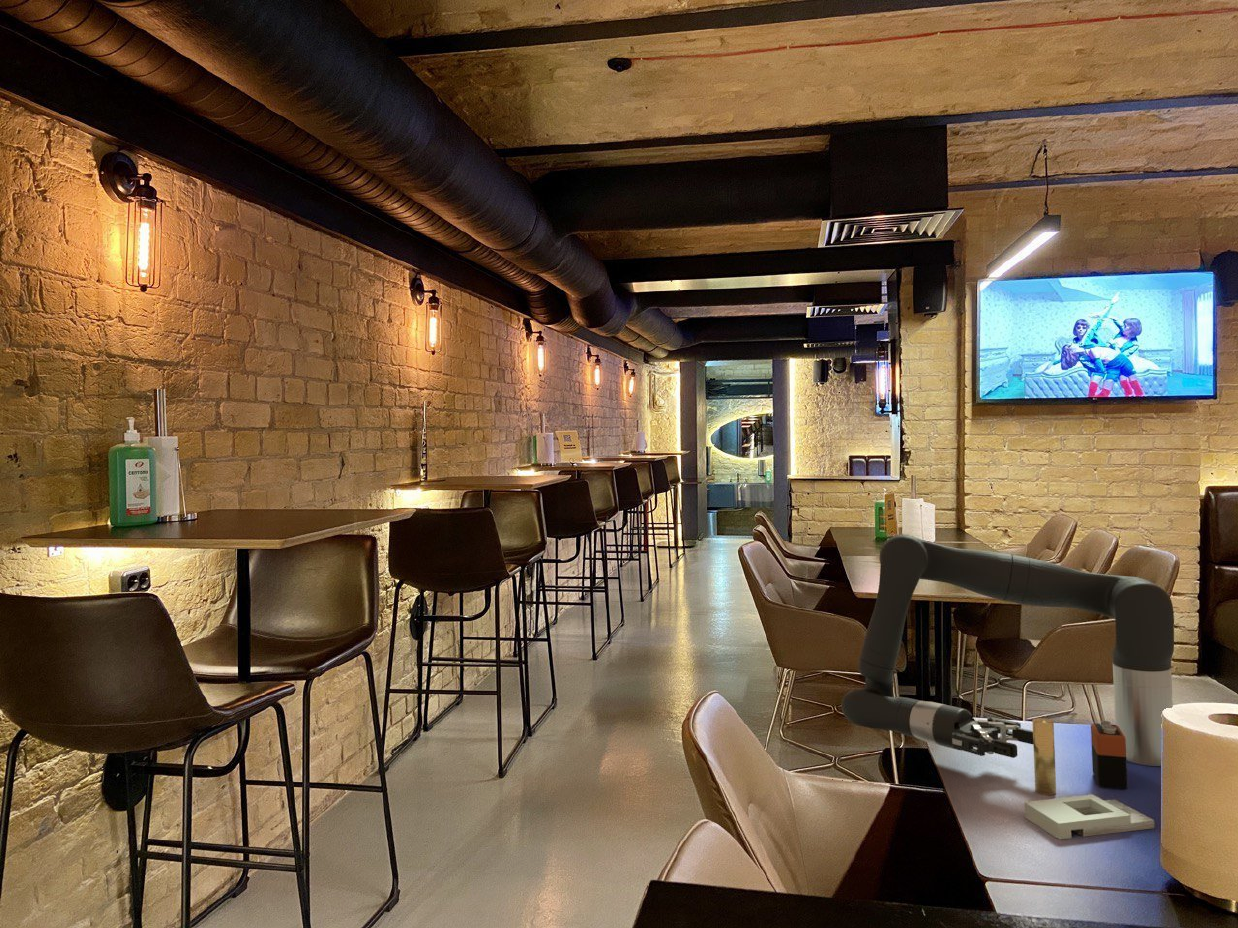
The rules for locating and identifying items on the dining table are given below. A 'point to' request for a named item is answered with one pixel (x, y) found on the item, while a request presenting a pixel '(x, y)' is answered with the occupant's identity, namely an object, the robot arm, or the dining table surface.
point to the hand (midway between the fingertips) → (1028, 745)
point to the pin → (1044, 756)
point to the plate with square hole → (1072, 814)
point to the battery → (1109, 755)
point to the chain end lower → (1136, 823)
